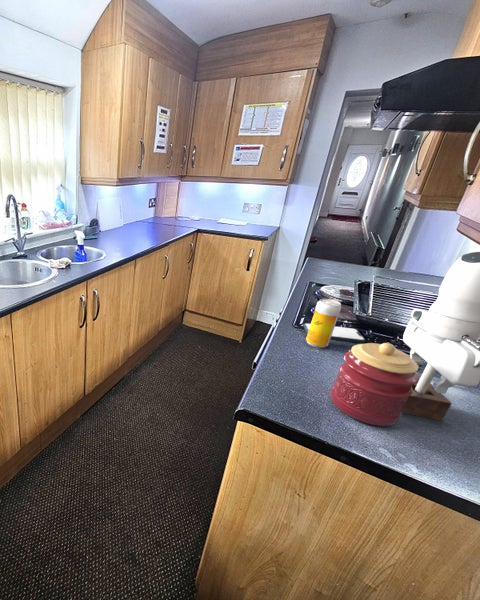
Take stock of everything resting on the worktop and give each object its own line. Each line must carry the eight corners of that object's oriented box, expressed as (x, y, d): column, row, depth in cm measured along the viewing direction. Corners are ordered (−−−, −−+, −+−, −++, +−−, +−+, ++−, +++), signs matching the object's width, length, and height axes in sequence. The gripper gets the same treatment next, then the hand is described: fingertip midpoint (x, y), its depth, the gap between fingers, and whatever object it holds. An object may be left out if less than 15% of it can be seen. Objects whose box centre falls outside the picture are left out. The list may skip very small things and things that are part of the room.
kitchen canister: (326, 383, 86) (348, 324, 79) (390, 400, 80) (419, 338, 73) (331, 414, 76) (356, 350, 69) (405, 436, 70) (441, 368, 63)
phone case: (308, 338, 111) (365, 345, 106) (309, 333, 110) (367, 340, 105) (301, 326, 119) (354, 332, 114) (302, 322, 118) (356, 328, 113)
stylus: (414, 404, 80) (439, 355, 74) (418, 409, 78) (444, 359, 73) (405, 403, 80) (429, 354, 75) (409, 407, 79) (434, 358, 73)
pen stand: (422, 400, 81) (431, 383, 79) (442, 420, 75) (452, 403, 73) (385, 393, 83) (392, 377, 82) (401, 412, 77) (409, 395, 75)
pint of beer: (305, 337, 110) (318, 296, 104) (327, 342, 107) (342, 300, 101) (304, 345, 106) (318, 303, 100) (327, 350, 103) (342, 307, 97)
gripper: (511, 352, 61) (475, 411, 66) (441, 311, 79) (417, 359, 84) (467, 346, 63) (435, 403, 68) (408, 306, 81) (387, 355, 86)
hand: (425, 379), depth 76 cm, fingers open, 8 cm apart
